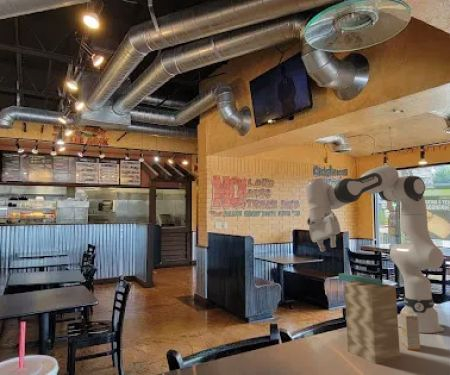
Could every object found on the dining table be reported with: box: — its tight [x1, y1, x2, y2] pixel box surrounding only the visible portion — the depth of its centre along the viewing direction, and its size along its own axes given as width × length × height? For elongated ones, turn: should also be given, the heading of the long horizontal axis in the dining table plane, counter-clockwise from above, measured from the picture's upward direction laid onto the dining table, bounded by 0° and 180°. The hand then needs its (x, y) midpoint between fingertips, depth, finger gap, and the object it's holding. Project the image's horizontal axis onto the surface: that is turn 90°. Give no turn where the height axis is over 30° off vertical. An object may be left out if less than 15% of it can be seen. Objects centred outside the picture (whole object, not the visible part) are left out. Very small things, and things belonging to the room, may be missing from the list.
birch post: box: [344, 281, 401, 364], centre depth 139 cm, size 14×12×27 cm
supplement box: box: [400, 310, 421, 351], centre depth 145 cm, size 8×5×13 cm, turn 168°
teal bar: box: [338, 272, 383, 287], centre depth 145 cm, size 21×2×2 cm, turn 23°
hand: (328, 249), depth 147 cm, fingers open, 8 cm apart
